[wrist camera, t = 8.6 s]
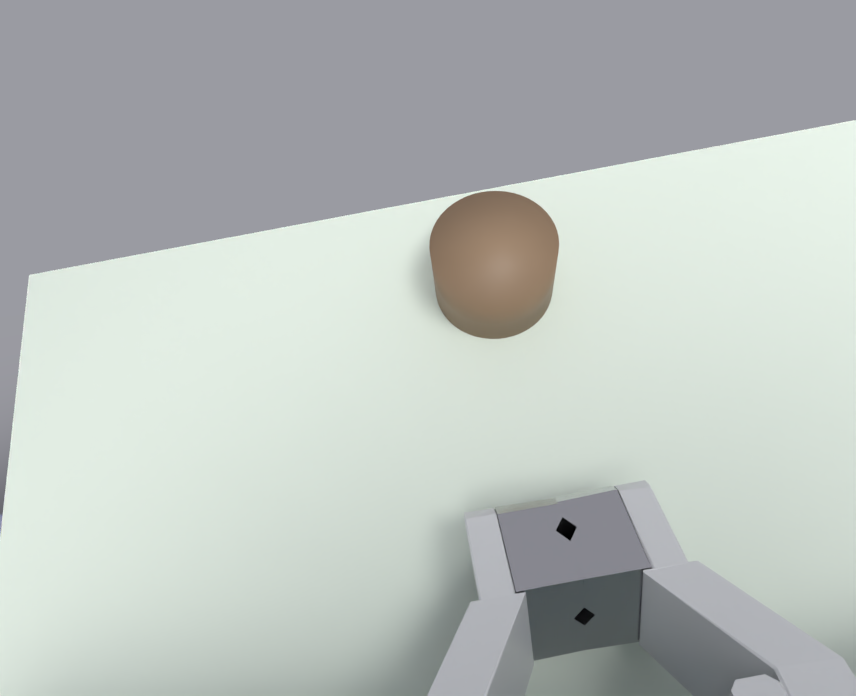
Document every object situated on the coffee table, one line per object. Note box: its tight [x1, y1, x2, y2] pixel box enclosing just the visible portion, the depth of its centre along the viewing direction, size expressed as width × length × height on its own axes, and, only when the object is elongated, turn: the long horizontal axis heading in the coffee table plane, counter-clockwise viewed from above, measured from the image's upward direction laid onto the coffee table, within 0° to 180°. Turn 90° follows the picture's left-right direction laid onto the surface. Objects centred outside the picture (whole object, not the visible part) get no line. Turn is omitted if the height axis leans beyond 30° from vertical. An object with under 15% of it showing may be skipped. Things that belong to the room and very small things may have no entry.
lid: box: [0, 120, 856, 696], centre depth 11 cm, size 20×19×3 cm
